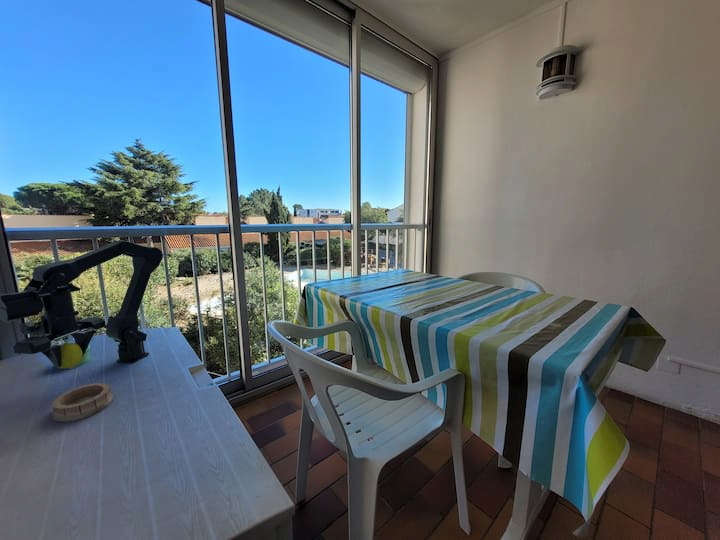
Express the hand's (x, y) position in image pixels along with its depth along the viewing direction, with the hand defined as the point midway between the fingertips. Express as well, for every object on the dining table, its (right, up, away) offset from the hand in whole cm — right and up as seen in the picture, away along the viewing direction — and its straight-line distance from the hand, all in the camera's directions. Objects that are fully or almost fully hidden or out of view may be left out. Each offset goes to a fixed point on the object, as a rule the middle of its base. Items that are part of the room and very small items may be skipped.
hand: (70, 361), depth 82 cm
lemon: (0, -2, 0) cm, 2 cm away
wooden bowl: (+13, -9, -9) cm, 18 cm away
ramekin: (-12, -5, +13) cm, 18 cm away
